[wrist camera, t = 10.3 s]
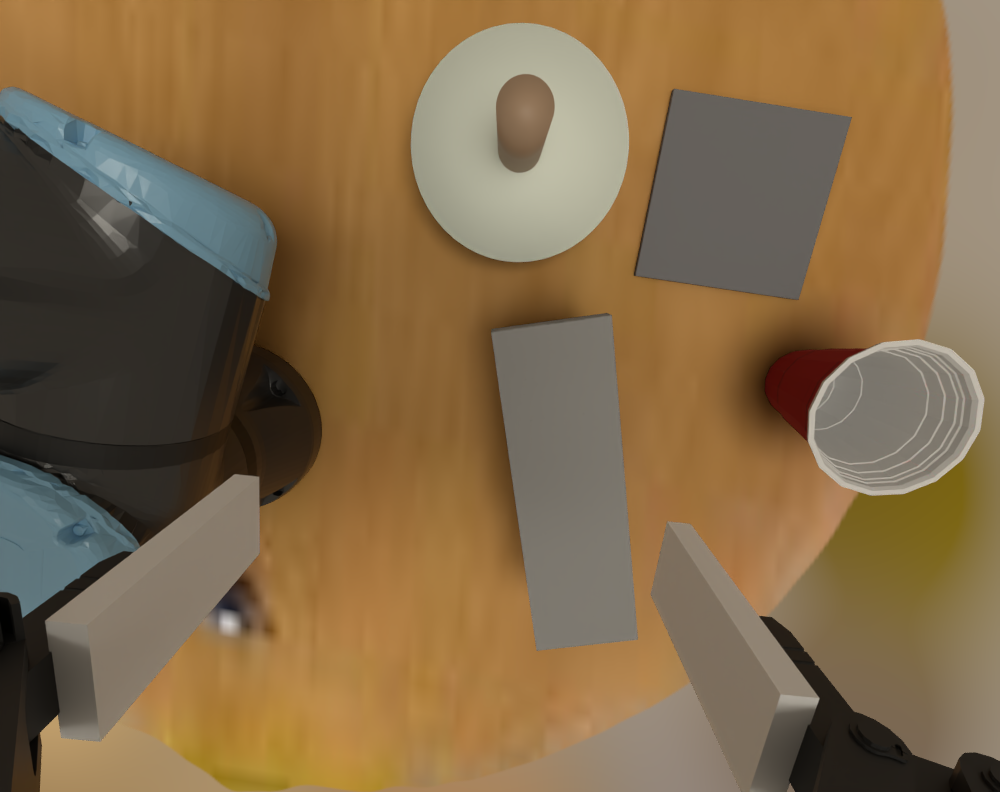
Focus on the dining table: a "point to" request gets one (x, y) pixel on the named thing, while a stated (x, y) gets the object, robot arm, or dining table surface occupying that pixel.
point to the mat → (739, 193)
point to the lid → (519, 142)
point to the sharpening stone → (568, 478)
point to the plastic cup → (880, 411)
